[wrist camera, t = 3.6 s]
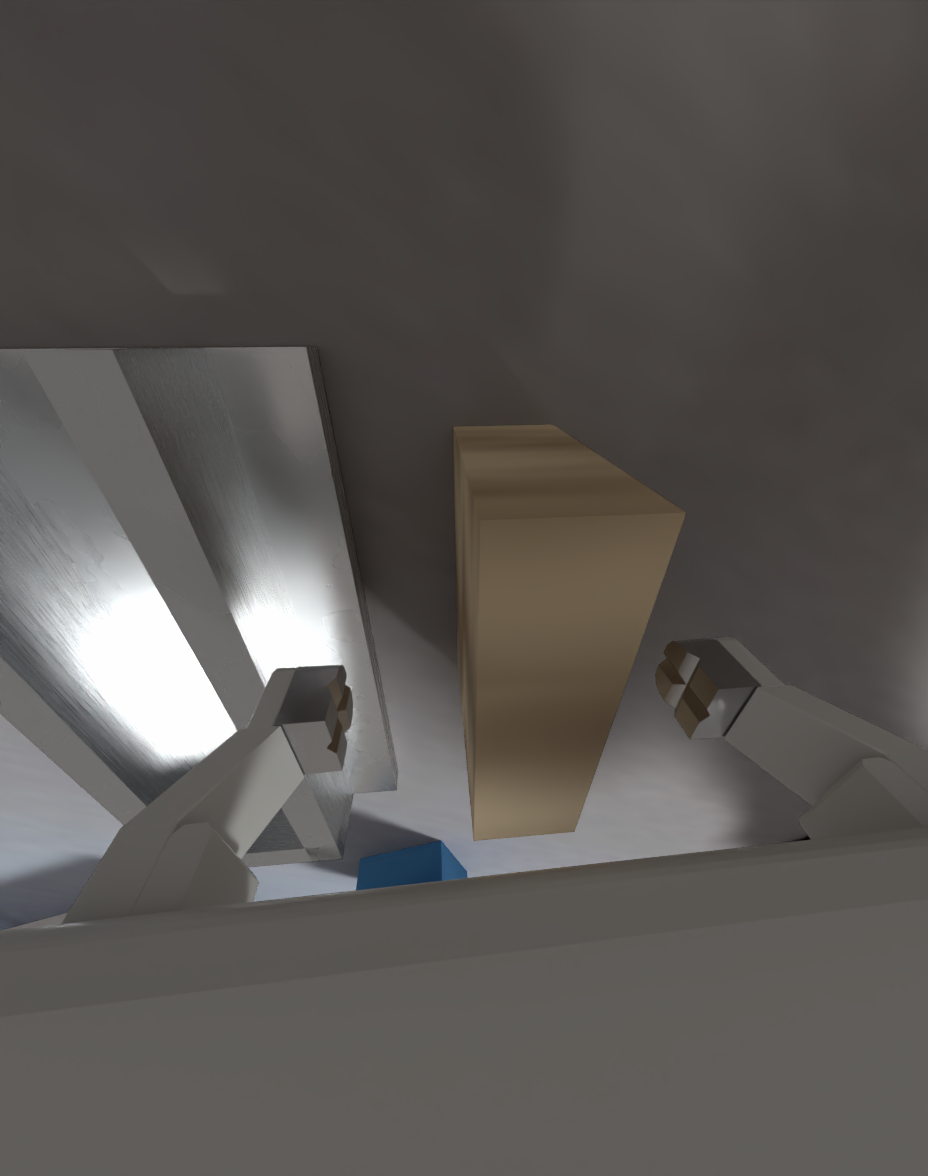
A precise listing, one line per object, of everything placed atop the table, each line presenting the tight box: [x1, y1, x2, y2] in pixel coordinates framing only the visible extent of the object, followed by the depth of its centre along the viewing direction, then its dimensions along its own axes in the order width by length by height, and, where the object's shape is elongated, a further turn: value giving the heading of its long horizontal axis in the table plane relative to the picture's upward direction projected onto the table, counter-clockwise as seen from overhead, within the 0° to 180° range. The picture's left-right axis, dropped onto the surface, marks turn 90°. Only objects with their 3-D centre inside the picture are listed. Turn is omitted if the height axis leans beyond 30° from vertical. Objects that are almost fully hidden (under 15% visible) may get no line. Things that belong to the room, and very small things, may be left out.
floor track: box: [0, 347, 398, 867], centre depth 13 cm, size 20×12×4 cm, turn 0°
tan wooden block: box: [453, 425, 686, 841], centre depth 11 cm, size 10×3×7 cm, turn 0°
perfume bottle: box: [356, 841, 467, 890], centre depth 23 cm, size 6×6×12 cm
